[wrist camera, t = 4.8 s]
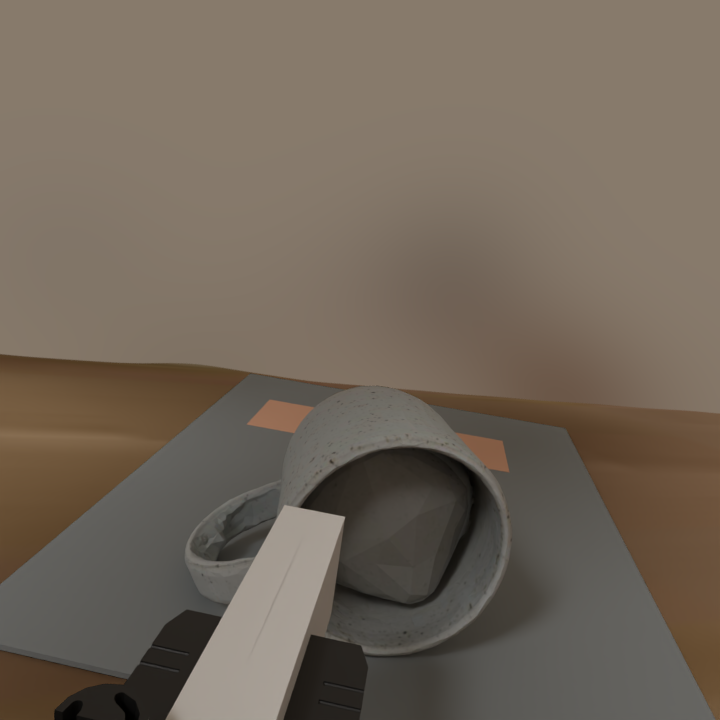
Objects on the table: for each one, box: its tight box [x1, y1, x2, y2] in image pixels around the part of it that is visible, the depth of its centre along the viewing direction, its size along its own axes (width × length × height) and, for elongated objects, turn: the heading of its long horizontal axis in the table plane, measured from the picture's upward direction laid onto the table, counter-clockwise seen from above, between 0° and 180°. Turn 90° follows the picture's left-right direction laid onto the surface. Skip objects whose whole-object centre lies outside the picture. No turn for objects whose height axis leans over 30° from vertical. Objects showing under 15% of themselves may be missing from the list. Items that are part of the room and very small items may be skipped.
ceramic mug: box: [185, 386, 512, 656], centre depth 23 cm, size 11×8×8 cm
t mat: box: [0, 373, 715, 720], centre depth 32 cm, size 24×30×1 cm
